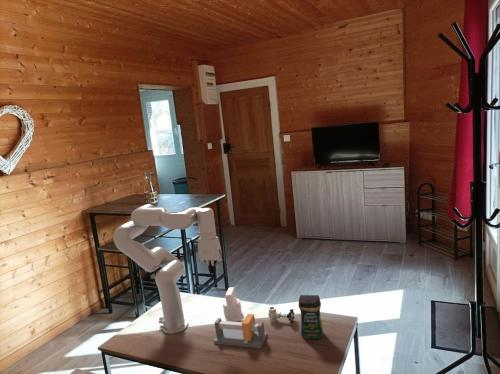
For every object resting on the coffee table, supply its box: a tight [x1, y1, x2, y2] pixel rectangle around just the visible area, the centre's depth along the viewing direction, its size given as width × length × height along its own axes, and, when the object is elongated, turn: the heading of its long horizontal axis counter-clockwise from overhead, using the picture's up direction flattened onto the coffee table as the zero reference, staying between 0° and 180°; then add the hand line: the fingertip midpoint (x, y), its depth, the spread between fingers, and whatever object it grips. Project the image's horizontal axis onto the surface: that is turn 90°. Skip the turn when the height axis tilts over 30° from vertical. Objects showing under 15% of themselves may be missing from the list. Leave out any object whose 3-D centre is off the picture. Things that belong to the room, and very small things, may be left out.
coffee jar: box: [298, 294, 324, 340], centre depth 165 cm, size 10×8×19 cm
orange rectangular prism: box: [241, 313, 256, 341], centre depth 167 cm, size 3×8×8 cm, turn 160°
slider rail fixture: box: [213, 317, 268, 349], centre depth 169 cm, size 22×10×8 cm, turn 70°
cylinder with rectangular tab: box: [222, 286, 242, 318], centre depth 194 cm, size 9×9×12 cm
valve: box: [267, 306, 295, 325], centre depth 180 cm, size 7×7×12 cm
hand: (212, 272), depth 176 cm, fingers closed
